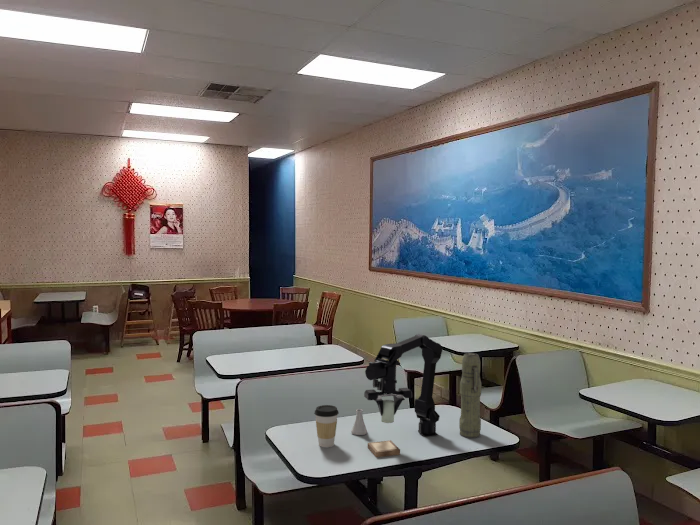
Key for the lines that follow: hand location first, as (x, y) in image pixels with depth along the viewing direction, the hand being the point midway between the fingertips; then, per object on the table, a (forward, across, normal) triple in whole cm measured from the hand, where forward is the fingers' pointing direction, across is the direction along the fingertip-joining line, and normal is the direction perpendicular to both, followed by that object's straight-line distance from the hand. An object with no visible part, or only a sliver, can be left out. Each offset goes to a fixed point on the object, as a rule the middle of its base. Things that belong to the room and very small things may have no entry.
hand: (387, 414), depth 227 cm
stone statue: (+12, -39, -4) cm, 41 cm away
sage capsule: (+2, 0, 0) cm, 3 cm away
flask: (+13, +6, -18) cm, 23 cm away
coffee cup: (+14, +23, -9) cm, 28 cm away
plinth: (+13, +3, +4) cm, 14 cm away
